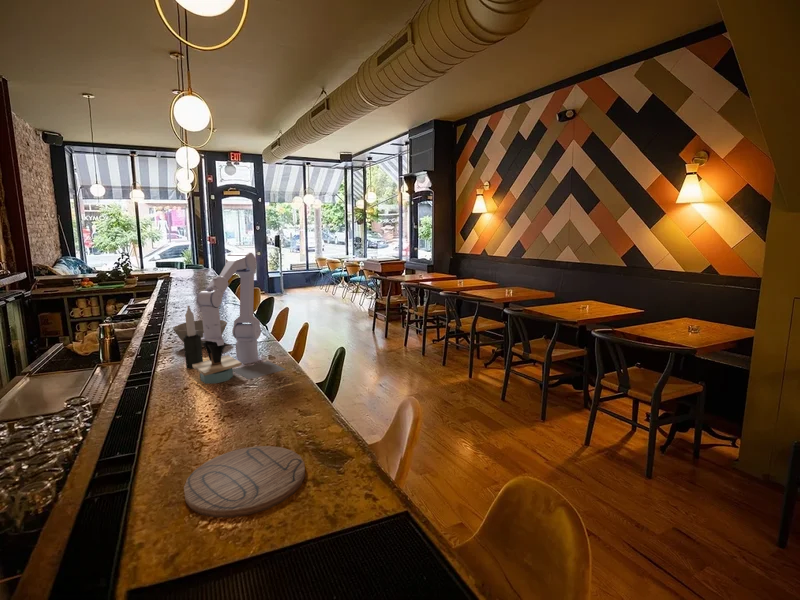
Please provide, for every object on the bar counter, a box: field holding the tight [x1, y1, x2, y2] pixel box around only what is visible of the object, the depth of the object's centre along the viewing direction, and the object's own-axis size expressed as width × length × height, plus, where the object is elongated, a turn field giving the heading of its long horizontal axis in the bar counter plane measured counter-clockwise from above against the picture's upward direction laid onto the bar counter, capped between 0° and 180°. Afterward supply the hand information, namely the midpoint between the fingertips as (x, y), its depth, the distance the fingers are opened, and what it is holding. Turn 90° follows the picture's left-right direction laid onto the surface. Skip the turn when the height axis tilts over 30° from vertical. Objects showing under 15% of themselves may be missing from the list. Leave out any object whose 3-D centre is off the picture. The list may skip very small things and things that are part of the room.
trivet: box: [183, 445, 306, 518], centre depth 99 cm, size 25×25×2 cm
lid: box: [192, 353, 243, 376], centre depth 162 cm, size 13×13×5 cm
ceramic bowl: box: [172, 319, 228, 348], centre depth 209 cm, size 22×23×10 cm
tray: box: [232, 360, 287, 380], centre depth 172 cm, size 15×15×1 cm
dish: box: [199, 368, 234, 384], centre depth 163 cm, size 10×10×4 cm
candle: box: [182, 305, 204, 370], centre depth 175 cm, size 5×5×25 cm
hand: (215, 361), depth 162 cm, fingers closed on lid, 3 cm apart
